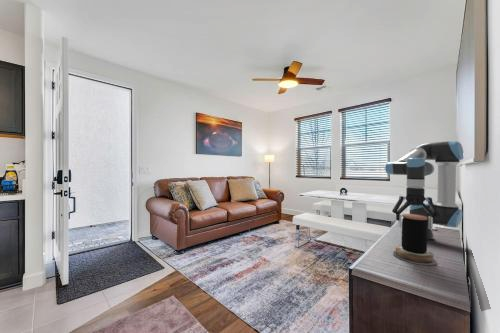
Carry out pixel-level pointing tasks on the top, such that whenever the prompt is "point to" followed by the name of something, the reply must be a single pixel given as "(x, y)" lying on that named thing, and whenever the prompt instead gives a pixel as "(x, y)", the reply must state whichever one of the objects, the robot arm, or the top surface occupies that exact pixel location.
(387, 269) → the top surface
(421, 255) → the index wheel
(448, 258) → the top surface
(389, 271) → the top surface
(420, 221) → the coffee jar
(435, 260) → the wheel base
